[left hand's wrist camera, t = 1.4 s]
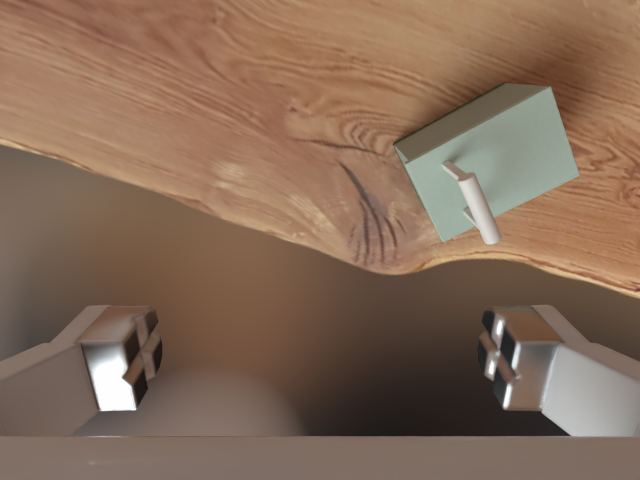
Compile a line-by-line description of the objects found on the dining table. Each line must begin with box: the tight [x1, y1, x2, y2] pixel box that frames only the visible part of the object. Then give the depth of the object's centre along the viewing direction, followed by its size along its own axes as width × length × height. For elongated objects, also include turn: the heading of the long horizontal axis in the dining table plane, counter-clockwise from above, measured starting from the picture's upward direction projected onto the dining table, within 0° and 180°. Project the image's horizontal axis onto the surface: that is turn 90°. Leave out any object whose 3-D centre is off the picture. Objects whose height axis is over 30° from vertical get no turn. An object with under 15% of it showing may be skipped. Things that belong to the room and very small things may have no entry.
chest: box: [393, 82, 545, 213], centre depth 44 cm, size 14×9×9 cm
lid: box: [404, 86, 580, 244], centre depth 36 cm, size 14×9×8 cm, turn 120°
